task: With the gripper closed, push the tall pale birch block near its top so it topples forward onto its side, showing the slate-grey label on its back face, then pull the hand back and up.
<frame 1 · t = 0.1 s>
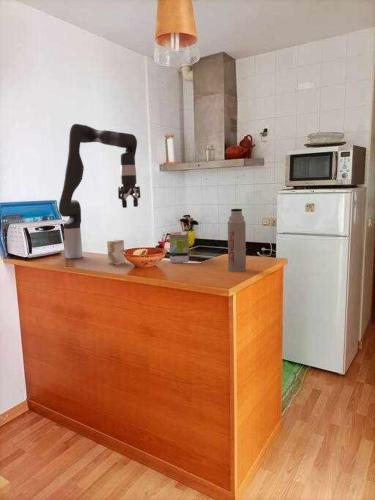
hand: (130, 207, 189), 29 cm above the countertop, fingers open, 8 cm apart
thermos bottle: (236, 270, 171), on the countertop
birch block: (116, 263, 196), on the countertop
tea box: (179, 260, 199), on the countertop
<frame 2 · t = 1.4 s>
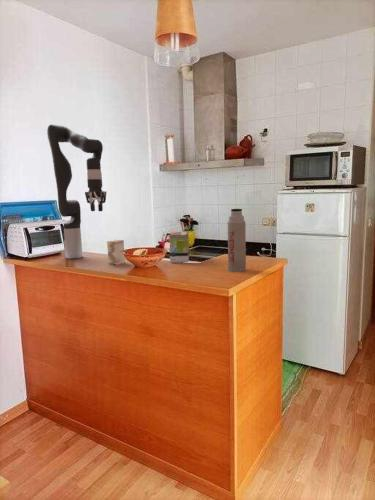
hand: (96, 211, 198), 27 cm above the countertop, fingers open, 5 cm apart
nothing on the countertop moved.
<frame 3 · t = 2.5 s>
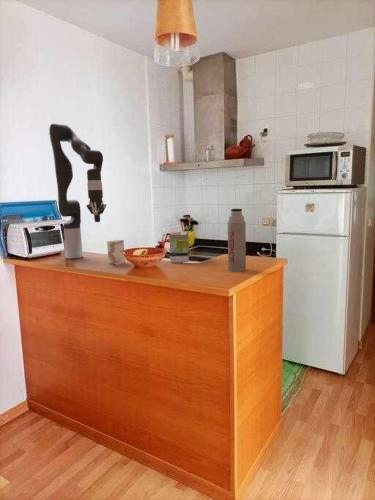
hand: (97, 222, 199), 21 cm above the countertop, fingers closed
nothing on the countertop moved.
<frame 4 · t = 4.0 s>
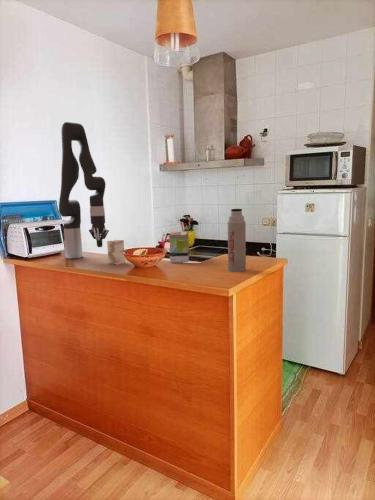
hand: (99, 246, 200), 8 cm above the countertop, fingers closed
nothing on the countertop moved.
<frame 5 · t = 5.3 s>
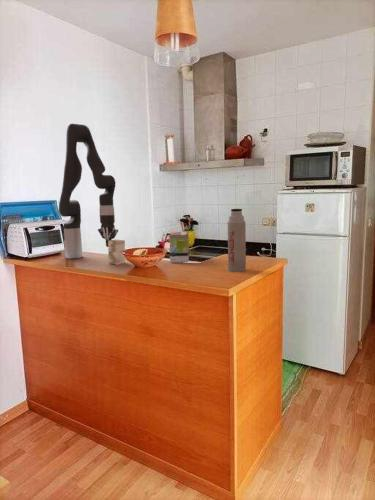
hand: (108, 246, 197), 9 cm above the countertop, fingers closed
birch block: (116, 263, 196), on the countertop, touching gripper
everything else where it was.
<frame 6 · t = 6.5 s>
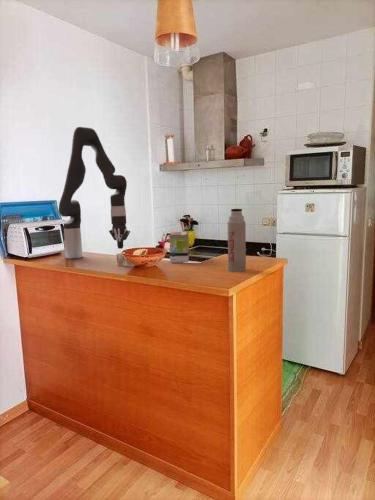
hand: (120, 248, 192), 8 cm above the countertop, fingers closed
birch block: (120, 258, 193), point 3 cm above the countertop, tilted 90°
everything else where it was.
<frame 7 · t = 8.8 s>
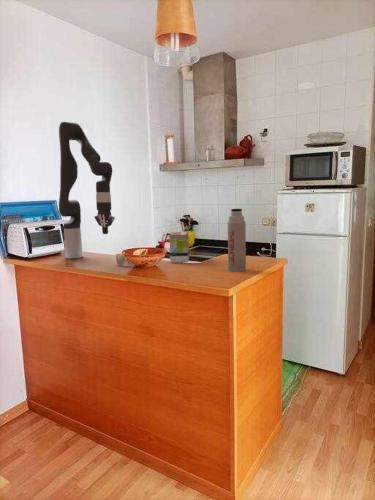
hand: (105, 234, 197), 15 cm above the countertop, fingers closed
nothing on the countertop moved.
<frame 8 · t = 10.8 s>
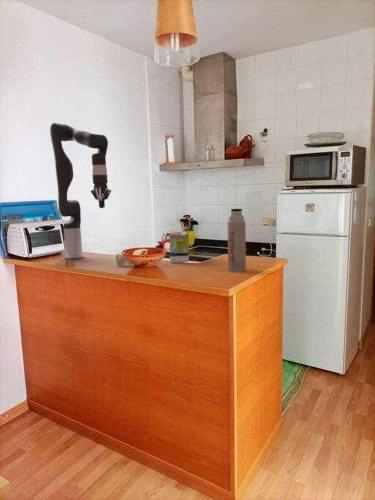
hand: (102, 207, 195), 29 cm above the countertop, fingers closed
nothing on the countertop moved.
at the end: birch block tilted 90°; birch block inside the target area (1.9 cm from its centre), point 2.8 cm above the countertop; tea box moved 0.3 cm from its start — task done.
